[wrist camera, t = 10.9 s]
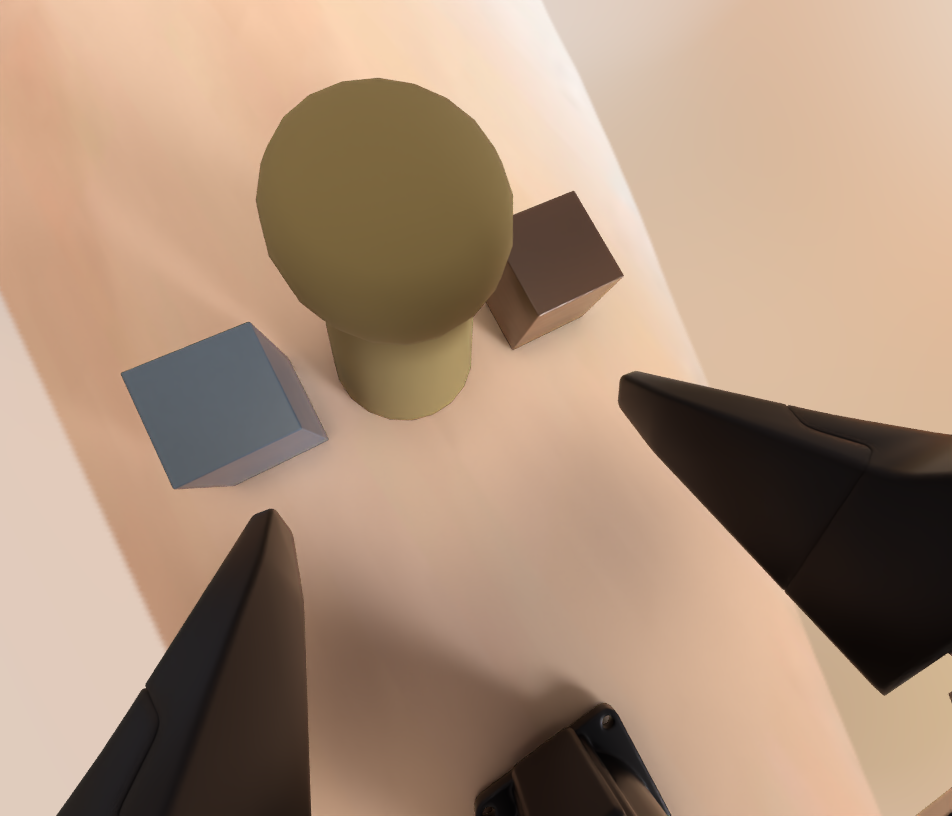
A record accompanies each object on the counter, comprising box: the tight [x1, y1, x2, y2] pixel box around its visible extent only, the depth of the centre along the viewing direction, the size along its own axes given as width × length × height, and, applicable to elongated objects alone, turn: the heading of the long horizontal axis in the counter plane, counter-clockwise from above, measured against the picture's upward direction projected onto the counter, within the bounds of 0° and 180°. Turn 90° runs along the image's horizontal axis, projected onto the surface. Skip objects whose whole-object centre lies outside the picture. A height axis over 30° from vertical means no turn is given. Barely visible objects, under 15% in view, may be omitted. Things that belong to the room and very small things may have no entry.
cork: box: [256, 78, 513, 420], centre depth 12 cm, size 6×6×11 cm
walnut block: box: [486, 191, 624, 350], centre depth 17 cm, size 4×4×4 cm
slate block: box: [121, 322, 328, 489], centre depth 14 cm, size 4×4×4 cm
